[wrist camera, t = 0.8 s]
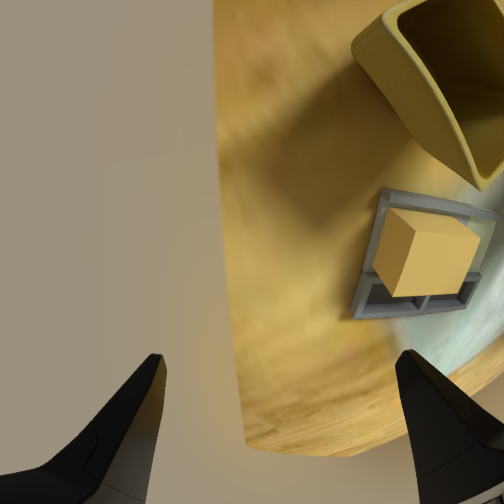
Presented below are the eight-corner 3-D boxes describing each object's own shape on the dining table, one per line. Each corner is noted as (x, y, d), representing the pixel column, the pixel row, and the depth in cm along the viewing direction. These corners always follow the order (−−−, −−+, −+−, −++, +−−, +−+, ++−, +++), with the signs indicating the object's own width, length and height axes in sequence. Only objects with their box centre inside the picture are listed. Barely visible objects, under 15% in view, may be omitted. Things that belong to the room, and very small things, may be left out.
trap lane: (495, 211, 18) (504, 217, 17) (459, 301, 24) (465, 309, 23) (382, 187, 18) (390, 193, 16) (349, 308, 23) (353, 319, 22)
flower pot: (395, 154, 16) (482, 198, 9) (315, 55, 13) (378, 15, 5) (460, 94, 13) (547, 111, 6) (396, 2, 10) (474, -31, 2)
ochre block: (452, 216, 18) (480, 238, 15) (434, 266, 20) (457, 293, 17) (388, 206, 18) (415, 231, 14) (372, 265, 20) (392, 296, 17)
